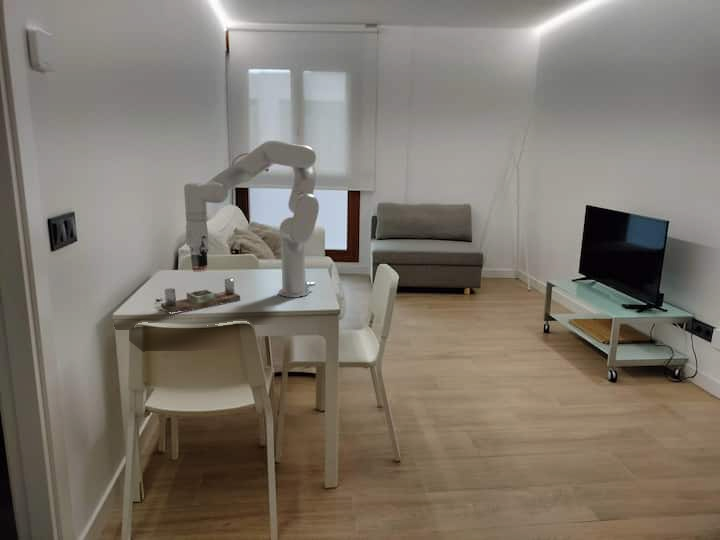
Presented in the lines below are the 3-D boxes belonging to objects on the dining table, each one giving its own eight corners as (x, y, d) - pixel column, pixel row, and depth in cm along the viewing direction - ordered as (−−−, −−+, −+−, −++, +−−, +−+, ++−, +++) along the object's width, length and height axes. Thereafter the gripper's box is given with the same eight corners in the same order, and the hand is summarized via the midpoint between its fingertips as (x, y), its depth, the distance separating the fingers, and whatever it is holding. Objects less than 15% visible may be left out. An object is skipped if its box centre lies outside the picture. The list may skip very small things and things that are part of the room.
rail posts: (231, 292, 215) (231, 277, 214) (236, 294, 213) (235, 279, 211) (164, 305, 198) (163, 289, 196) (168, 307, 195) (167, 291, 194)
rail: (229, 295, 218) (228, 284, 217) (240, 300, 211) (239, 289, 210) (161, 308, 200) (160, 297, 199) (171, 314, 193) (170, 302, 192)
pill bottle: (202, 272, 199) (201, 246, 197) (189, 271, 200) (187, 246, 198) (209, 269, 205) (208, 244, 202) (196, 268, 206) (194, 243, 203)
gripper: (177, 215, 202) (180, 262, 206) (197, 220, 189) (200, 270, 193) (196, 213, 206) (198, 259, 211) (216, 218, 194) (219, 267, 198)
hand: (199, 264), depth 202 cm, fingers closed on pill bottle, 5 cm apart
